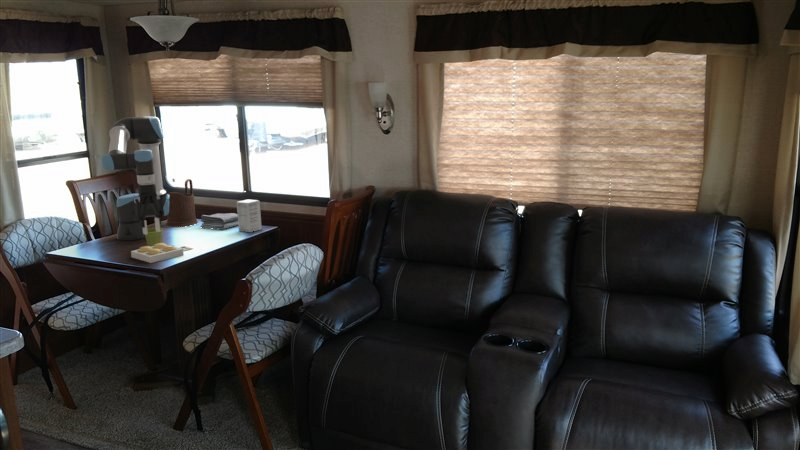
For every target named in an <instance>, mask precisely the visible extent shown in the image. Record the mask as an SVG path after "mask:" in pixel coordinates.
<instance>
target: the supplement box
mask: <svg viewBox="0 0 800 450" xmlns="http://www.w3.org/2000/svg"><path fill="white" fill-rule="evenodd" d="M236 211H237V213H236V214H238V225H237V226H238V231H239V230H240V231H239V232H244V231H245V232H244V233H253V231H254V232H257V231H261V230H263V229H262V228H263V226H262V216H261V214H262V213H261V202H260V200H258V199H250V198H249V199H243V200H239V201H236Z"/></svg>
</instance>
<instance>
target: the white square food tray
mask: <svg viewBox="0 0 800 450" xmlns="http://www.w3.org/2000/svg"><path fill="white" fill-rule="evenodd" d="M167 245H168V244H166V243H165V246H167ZM151 249H155V248H154V246H152V247H151ZM159 250H160V253H159V254H155V255H149V254H148V252H145V253H142V252H140V248H138V249H135V250H130V255H131V259H136V260H139V261H142V262H147V263H149V264H153V263H156V262H157V263H158V262H161V261H165V260H169V259H173V258H176V257H181V256H184V251H183V249H181V248H179V247H177V246H174V250H172V251H168V252H165V251H163V248H162V249H159Z"/></svg>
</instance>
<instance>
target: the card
mask: <svg viewBox="0 0 800 450" xmlns="http://www.w3.org/2000/svg"><path fill="white" fill-rule="evenodd" d="M178 248H181V249H183V252H186V251H190V250H193V249H194V248H193V247H191V246H190V247H189V246H179V247H178Z"/></svg>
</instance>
